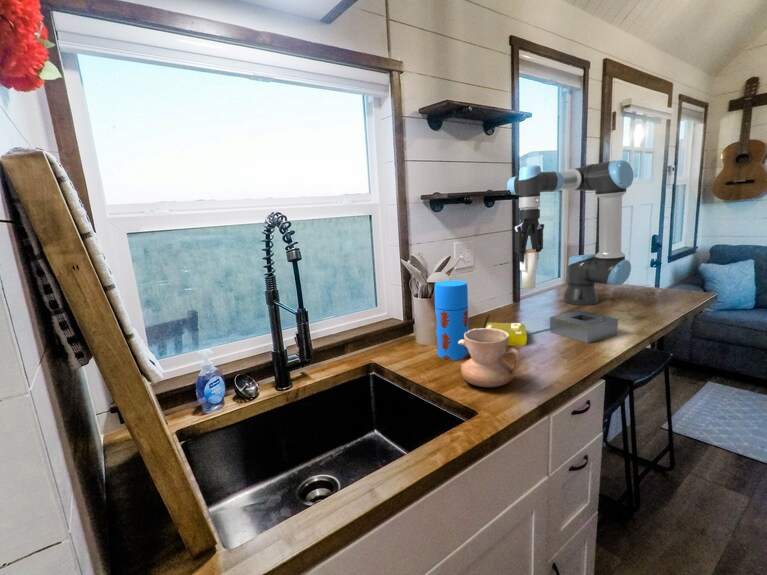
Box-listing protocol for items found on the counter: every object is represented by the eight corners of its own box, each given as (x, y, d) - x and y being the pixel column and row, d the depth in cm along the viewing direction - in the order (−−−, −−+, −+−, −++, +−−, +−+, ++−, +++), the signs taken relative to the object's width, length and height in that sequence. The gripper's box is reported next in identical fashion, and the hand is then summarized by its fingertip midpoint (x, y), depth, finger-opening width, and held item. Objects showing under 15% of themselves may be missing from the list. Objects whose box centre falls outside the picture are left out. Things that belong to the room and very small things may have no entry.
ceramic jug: (448, 384, 109) (446, 337, 106) (471, 366, 120) (470, 323, 117) (510, 400, 98) (510, 348, 95) (529, 379, 109) (529, 331, 106)
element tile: (484, 332, 153) (484, 321, 152) (524, 333, 148) (524, 321, 147) (483, 345, 139) (483, 332, 138) (527, 347, 134) (527, 334, 133)
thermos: (460, 362, 123) (458, 287, 119) (431, 356, 130) (428, 285, 125) (474, 351, 132) (472, 281, 127) (446, 346, 138) (444, 279, 134)
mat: (528, 322, 161) (528, 320, 161) (551, 329, 150) (551, 327, 150) (506, 327, 156) (506, 325, 156) (528, 334, 145) (528, 333, 145)
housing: (578, 324, 154) (579, 310, 152) (617, 334, 139) (617, 318, 138) (549, 331, 147) (550, 316, 146) (587, 343, 133) (587, 326, 132)
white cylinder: (528, 285, 153) (528, 248, 150) (538, 287, 148) (538, 249, 146) (519, 287, 151) (519, 249, 148) (528, 289, 146) (529, 250, 144)
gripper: (518, 209, 137) (518, 273, 141) (554, 207, 144) (553, 267, 149) (504, 210, 144) (504, 271, 148) (538, 207, 151) (538, 265, 155)
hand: (528, 269), depth 148 cm, fingers closed on white cylinder, 5 cm apart
